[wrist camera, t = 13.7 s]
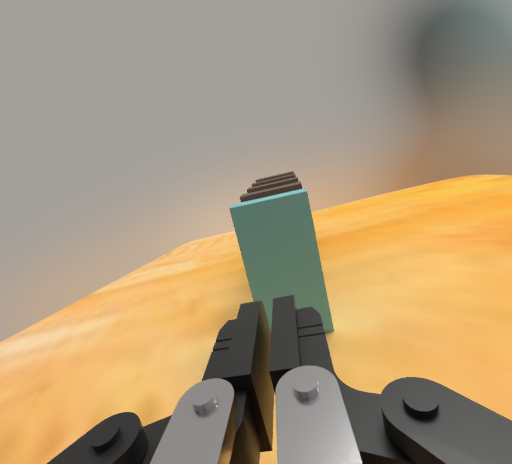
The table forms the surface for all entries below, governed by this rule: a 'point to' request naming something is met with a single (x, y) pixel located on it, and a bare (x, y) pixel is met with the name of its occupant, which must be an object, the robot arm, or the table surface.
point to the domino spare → (281, 252)
